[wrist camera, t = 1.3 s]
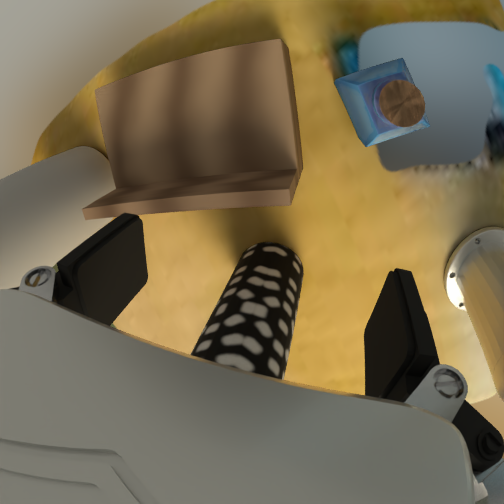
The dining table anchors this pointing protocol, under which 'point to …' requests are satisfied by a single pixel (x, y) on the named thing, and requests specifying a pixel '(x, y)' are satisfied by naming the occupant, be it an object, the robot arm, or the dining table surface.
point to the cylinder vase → (49, 210)
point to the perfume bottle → (382, 102)
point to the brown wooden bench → (202, 133)
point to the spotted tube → (255, 313)
